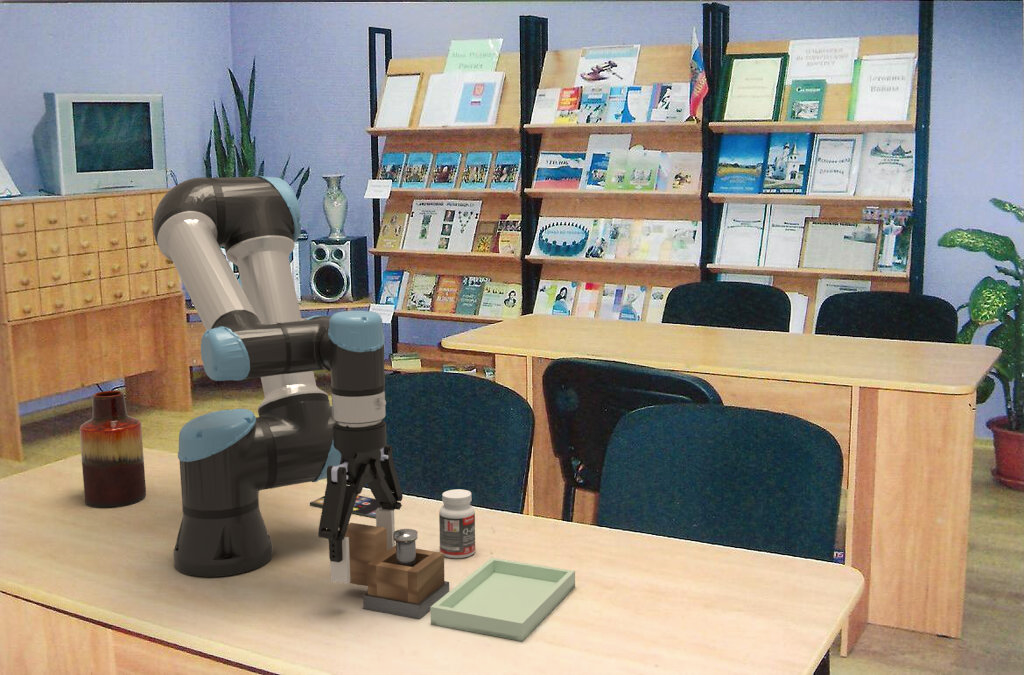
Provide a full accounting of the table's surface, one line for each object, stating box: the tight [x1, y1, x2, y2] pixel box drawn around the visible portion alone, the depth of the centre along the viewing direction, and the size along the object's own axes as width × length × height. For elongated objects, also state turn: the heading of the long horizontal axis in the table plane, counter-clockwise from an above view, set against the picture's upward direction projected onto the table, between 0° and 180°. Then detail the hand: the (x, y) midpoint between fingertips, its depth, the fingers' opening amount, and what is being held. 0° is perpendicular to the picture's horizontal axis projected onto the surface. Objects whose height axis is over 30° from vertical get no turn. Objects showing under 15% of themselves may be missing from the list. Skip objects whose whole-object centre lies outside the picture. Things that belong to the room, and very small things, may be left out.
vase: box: [79, 390, 147, 509], centre depth 198 cm, size 11×11×20 cm
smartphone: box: [309, 494, 403, 520], centre depth 195 cm, size 8×15×1 cm, turn 60°
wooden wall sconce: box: [345, 522, 445, 603], centre depth 152 cm, size 14×8×8 cm, turn 66°
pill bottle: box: [438, 488, 476, 559], centre depth 170 cm, size 6×6×10 cm
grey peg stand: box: [362, 528, 450, 620], centre depth 151 cm, size 9×9×10 cm
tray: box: [430, 557, 576, 642], centre depth 151 cm, size 14×20×2 cm
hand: (364, 566), depth 154 cm, fingers open, 12 cm apart
